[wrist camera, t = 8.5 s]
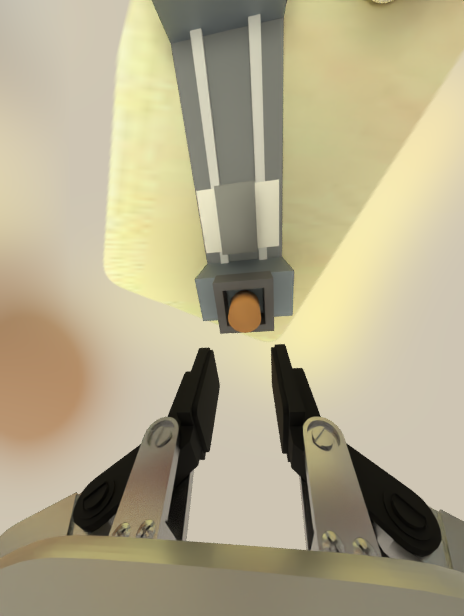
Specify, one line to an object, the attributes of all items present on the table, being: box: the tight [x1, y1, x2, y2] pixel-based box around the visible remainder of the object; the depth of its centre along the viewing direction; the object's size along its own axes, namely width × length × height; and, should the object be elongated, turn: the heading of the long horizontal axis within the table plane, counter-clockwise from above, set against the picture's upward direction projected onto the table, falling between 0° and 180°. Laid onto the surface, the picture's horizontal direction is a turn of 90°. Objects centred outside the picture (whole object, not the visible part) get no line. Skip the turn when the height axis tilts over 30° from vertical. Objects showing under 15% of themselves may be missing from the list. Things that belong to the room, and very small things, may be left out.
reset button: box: [228, 291, 261, 333], centre depth 17 cm, size 3×3×3 cm
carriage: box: [196, 179, 279, 255], centre depth 18 cm, size 6×8×8 cm
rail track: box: [152, 0, 294, 333], centre depth 17 cm, size 30×10×12 cm, turn 6°
